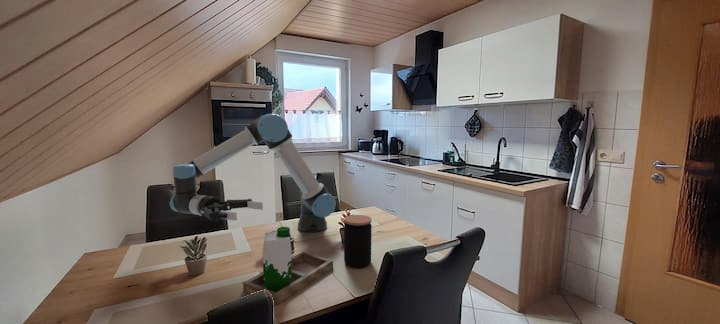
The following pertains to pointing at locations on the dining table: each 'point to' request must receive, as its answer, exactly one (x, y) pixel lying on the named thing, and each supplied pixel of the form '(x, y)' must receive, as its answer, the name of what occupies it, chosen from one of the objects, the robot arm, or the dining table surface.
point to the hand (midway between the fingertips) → (249, 210)
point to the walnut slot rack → (292, 277)
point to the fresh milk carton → (277, 259)
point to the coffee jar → (357, 241)
